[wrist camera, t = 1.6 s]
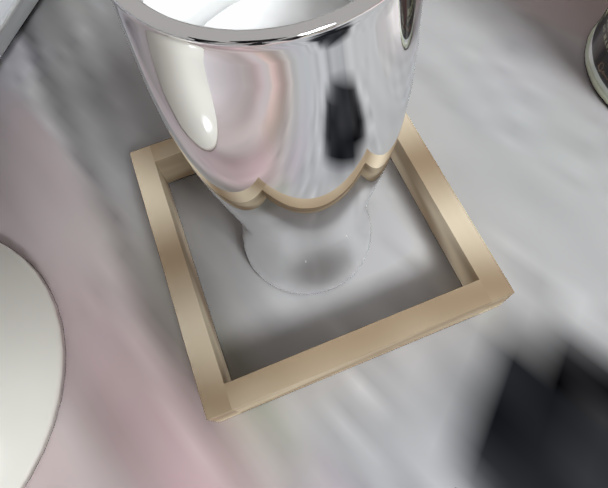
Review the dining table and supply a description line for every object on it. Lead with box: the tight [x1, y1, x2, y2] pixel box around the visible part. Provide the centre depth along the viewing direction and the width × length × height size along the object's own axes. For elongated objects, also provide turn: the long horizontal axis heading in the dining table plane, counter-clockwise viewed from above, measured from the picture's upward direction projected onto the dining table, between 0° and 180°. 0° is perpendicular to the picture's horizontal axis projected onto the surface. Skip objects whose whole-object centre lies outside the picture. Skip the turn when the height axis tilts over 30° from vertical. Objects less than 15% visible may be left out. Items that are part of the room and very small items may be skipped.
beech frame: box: [130, 113, 514, 422], centre depth 22 cm, size 13×13×2 cm
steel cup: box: [111, 0, 423, 295], centre depth 16 cm, size 7×7×15 cm
